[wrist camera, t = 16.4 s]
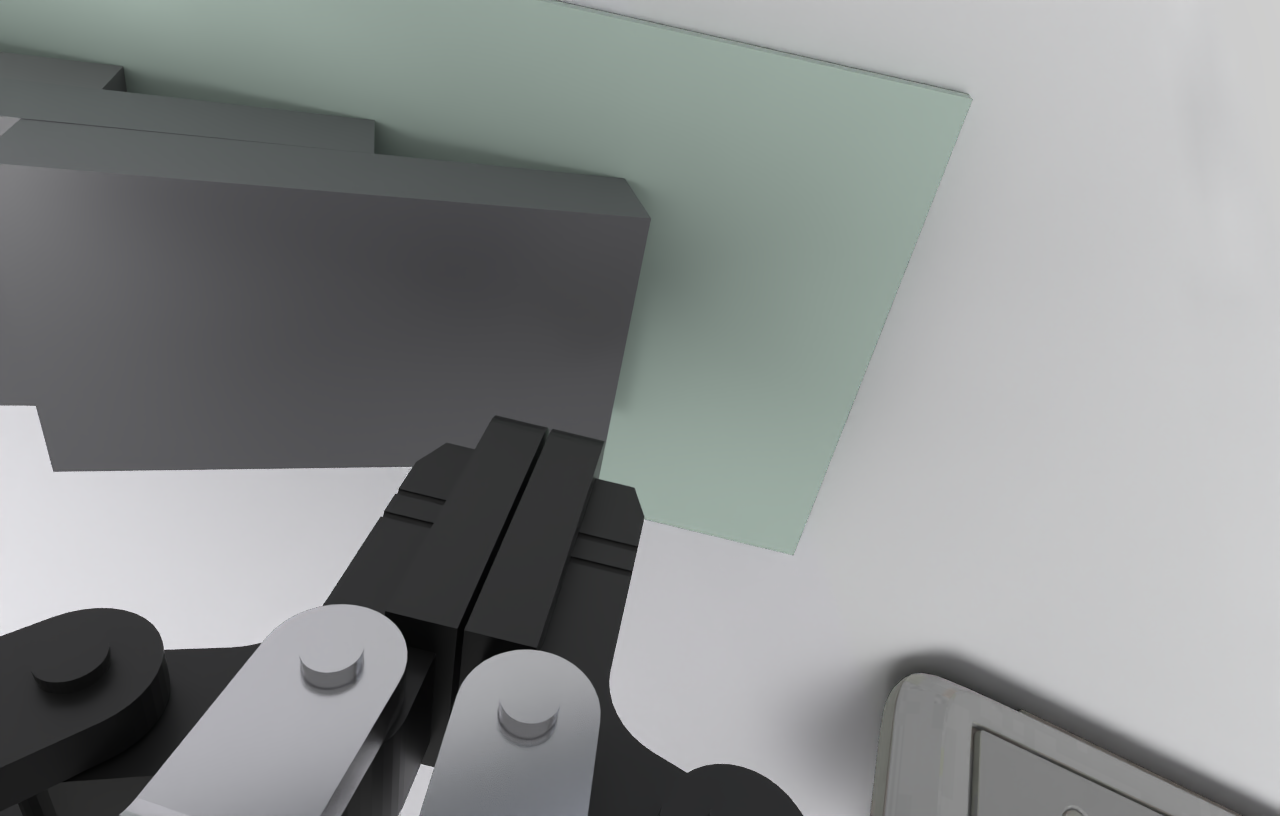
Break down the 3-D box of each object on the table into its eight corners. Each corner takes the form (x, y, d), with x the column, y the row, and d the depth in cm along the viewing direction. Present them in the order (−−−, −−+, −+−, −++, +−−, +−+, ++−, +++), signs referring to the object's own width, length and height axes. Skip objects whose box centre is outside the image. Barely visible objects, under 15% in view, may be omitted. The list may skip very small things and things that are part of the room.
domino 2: (601, 464, 16) (52, 471, 13) (583, 410, 17) (85, 406, 14) (651, 218, 13) (-29, 161, 10) (624, 178, 14) (20, 118, 12)
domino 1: (371, 408, 16) (-222, 403, 13) (372, 359, 17) (-164, 345, 14) (374, 153, 13) (-374, 78, 10) (374, 120, 15) (-285, 45, 12)
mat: (793, 543, 19) (793, 555, 18) (-282, 283, 19) (-301, 290, 19) (968, 94, 13) (972, 99, 13) (-534, -248, 14) (-567, -251, 14)
